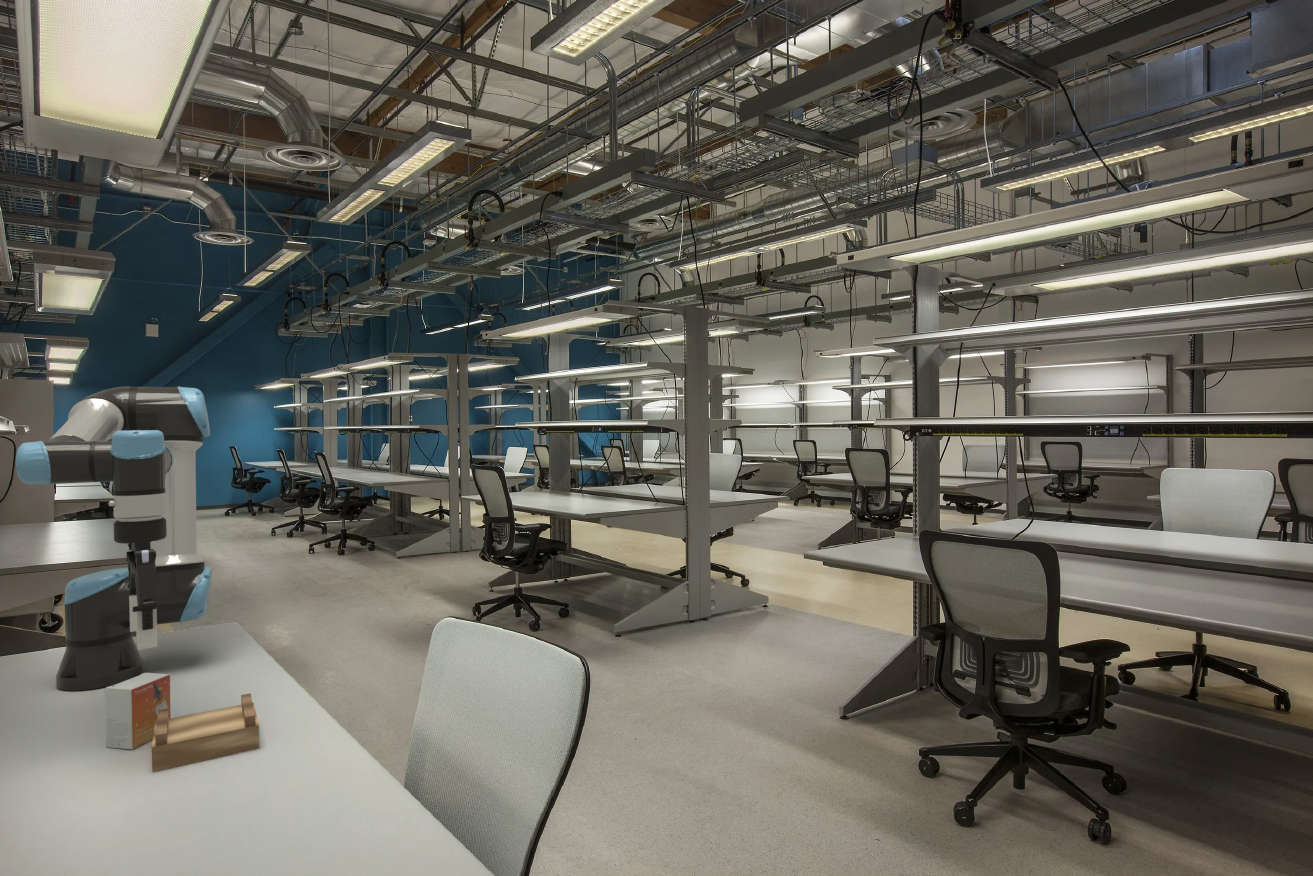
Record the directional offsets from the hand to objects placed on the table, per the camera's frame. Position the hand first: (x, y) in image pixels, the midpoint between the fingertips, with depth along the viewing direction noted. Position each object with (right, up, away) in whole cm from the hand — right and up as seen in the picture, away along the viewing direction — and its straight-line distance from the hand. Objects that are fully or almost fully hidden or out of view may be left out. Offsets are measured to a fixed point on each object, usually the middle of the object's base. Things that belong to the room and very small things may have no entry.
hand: (143, 639), depth 126 cm
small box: (-1, -18, +1) cm, 18 cm away
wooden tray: (+12, -18, -2) cm, 22 cm away
